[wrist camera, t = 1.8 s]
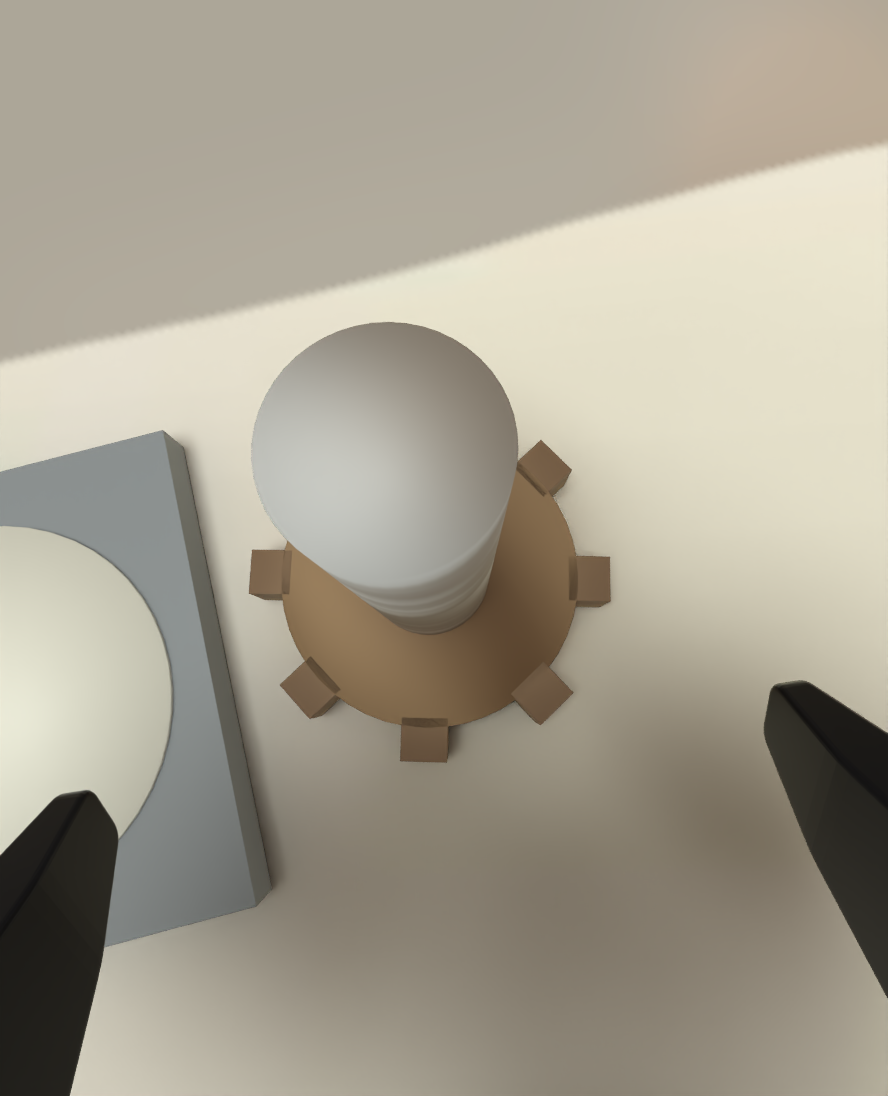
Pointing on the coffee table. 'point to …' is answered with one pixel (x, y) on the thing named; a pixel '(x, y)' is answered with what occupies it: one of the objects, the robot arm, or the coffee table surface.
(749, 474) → the coffee table surface
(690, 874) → the coffee table surface
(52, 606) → the gear board
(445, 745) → the walnut gear
